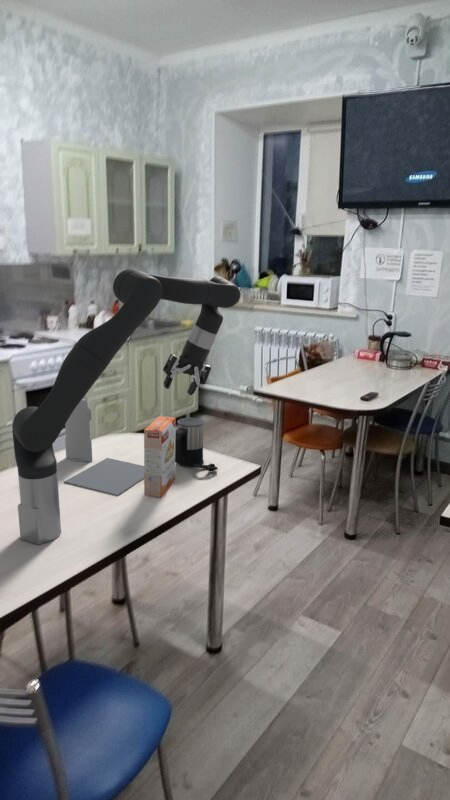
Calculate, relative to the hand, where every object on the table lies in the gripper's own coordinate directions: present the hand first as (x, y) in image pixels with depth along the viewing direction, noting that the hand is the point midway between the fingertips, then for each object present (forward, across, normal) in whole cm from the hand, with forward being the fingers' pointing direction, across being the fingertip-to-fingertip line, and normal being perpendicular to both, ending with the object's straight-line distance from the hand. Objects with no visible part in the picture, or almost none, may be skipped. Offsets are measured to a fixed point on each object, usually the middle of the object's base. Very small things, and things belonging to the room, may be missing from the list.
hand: (177, 390), depth 172 cm
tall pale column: (+40, -11, +22) cm, 47 cm away
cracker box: (+29, +3, -10) cm, 30 cm away
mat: (+35, -6, +5) cm, 36 cm away
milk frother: (+24, +20, 0) cm, 31 cm away
